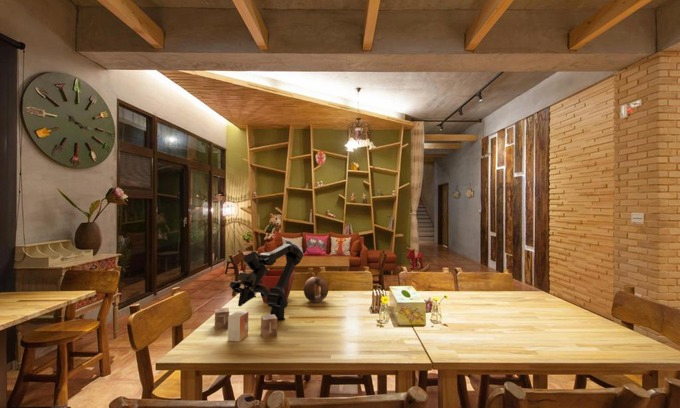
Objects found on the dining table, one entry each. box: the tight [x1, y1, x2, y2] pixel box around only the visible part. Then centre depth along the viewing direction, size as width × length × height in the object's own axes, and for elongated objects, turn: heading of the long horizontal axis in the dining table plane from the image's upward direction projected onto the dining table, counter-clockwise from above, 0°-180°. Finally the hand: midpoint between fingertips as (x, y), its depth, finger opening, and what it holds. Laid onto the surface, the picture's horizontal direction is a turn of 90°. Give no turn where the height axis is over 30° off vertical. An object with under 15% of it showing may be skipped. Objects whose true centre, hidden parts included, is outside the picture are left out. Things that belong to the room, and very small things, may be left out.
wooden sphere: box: [303, 276, 329, 303], centre depth 201 cm, size 15×15×15 cm
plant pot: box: [259, 269, 295, 304], centre depth 202 cm, size 19×19×17 cm
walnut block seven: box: [214, 307, 230, 331], centre depth 156 cm, size 6×6×8 cm
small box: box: [227, 310, 249, 343], centre depth 144 cm, size 8×6×10 cm
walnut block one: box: [260, 314, 278, 339], centre depth 147 cm, size 6×6×8 cm
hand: (239, 305), depth 144 cm, fingers closed
